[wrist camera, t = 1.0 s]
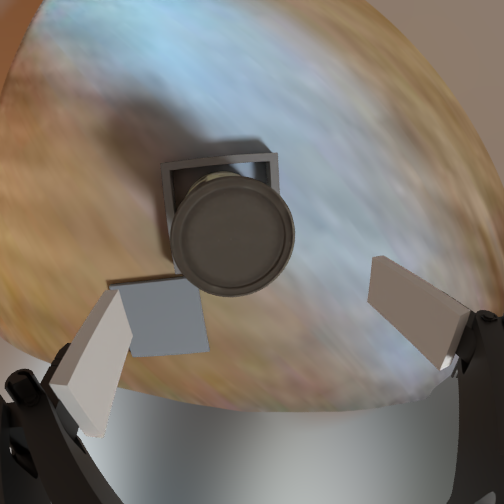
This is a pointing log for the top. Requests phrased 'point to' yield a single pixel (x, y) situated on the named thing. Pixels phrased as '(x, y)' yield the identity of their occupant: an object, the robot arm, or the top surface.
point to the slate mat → (164, 317)
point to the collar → (167, 167)
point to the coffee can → (231, 235)
